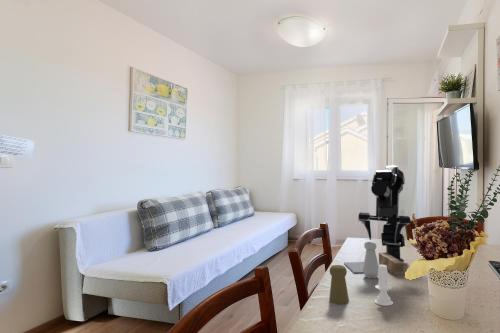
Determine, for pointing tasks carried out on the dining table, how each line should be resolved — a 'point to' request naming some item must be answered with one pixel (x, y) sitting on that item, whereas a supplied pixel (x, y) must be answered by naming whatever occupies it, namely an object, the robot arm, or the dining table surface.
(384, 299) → the candle
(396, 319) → the dining table surface
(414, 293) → the dining table surface
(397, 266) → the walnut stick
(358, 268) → the rest mat
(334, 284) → the pepper shaker
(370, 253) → the salt shaker
